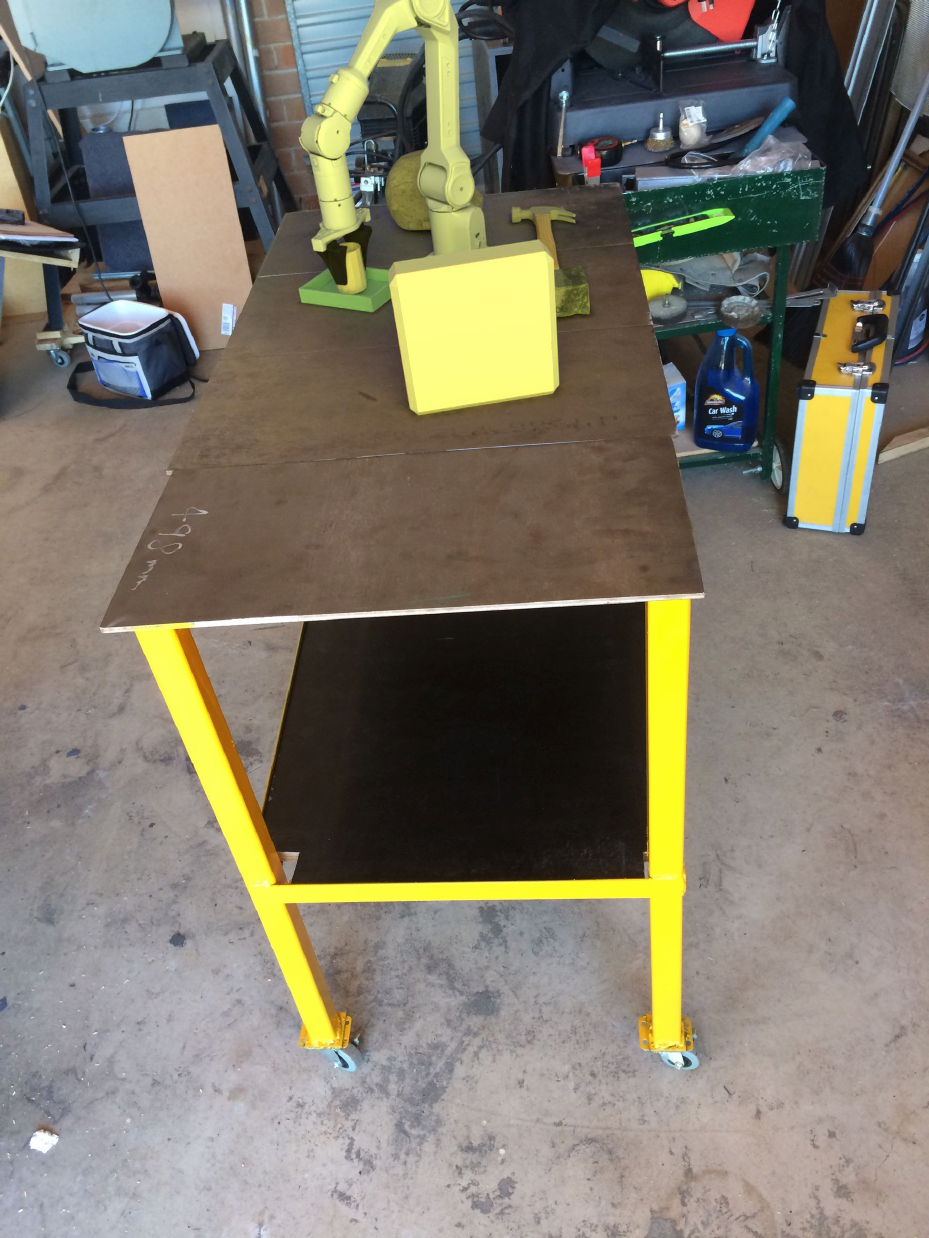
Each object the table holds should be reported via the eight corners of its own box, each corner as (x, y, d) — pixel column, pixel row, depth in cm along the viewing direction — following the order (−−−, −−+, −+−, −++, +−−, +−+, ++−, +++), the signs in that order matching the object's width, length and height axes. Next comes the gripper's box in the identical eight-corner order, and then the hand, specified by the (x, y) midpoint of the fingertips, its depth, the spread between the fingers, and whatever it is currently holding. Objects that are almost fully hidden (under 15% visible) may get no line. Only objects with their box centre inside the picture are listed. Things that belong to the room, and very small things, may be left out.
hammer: (585, 278, 160) (573, 216, 183) (586, 261, 159) (573, 201, 181) (516, 281, 161) (511, 219, 183) (515, 265, 159) (511, 204, 181)
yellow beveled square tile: (550, 371, 136) (543, 231, 123) (561, 397, 130) (555, 253, 117) (407, 393, 136) (384, 256, 122) (412, 421, 130) (388, 280, 116)
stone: (386, 236, 184) (373, 155, 174) (396, 223, 189) (384, 143, 179) (479, 234, 179) (471, 150, 169) (487, 220, 184) (479, 138, 174)
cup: (373, 283, 164) (366, 243, 160) (356, 296, 161) (348, 255, 156) (348, 280, 167) (341, 241, 162) (332, 292, 163) (323, 252, 159)
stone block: (496, 303, 155) (493, 272, 152) (582, 293, 155) (582, 261, 151) (499, 326, 149) (496, 294, 145) (590, 315, 148) (589, 283, 145)
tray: (407, 285, 165) (405, 271, 163) (373, 312, 158) (370, 298, 156) (337, 277, 171) (334, 263, 170) (301, 302, 164) (298, 288, 163)
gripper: (340, 180, 160) (355, 259, 169) (290, 210, 151) (308, 292, 160) (374, 182, 157) (387, 262, 166) (325, 213, 148) (342, 296, 157)
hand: (351, 277), depth 163 cm, fingers closed on cup, 5 cm apart
